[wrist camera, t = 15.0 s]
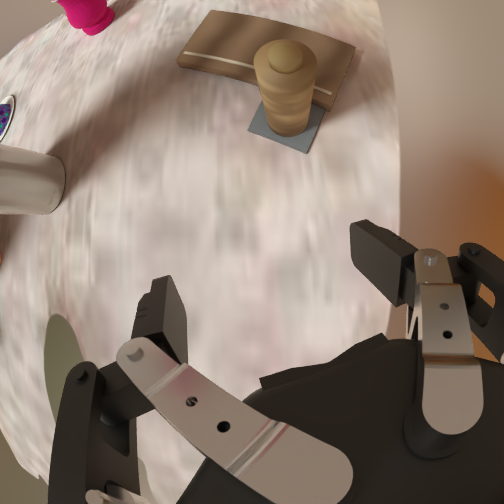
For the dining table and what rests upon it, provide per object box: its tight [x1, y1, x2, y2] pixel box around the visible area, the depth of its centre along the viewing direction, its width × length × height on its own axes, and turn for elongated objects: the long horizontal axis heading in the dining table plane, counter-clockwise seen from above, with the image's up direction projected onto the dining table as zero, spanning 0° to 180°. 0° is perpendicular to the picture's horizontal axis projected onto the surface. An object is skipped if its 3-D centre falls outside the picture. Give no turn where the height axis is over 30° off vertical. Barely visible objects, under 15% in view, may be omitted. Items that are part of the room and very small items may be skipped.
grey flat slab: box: [248, 101, 326, 154], centre depth 28 cm, size 7×6×1 cm
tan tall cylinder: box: [254, 39, 317, 137], centre depth 22 cm, size 5×5×13 cm
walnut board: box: [176, 10, 356, 112], centre depth 27 cm, size 20×10×2 cm, turn 66°
